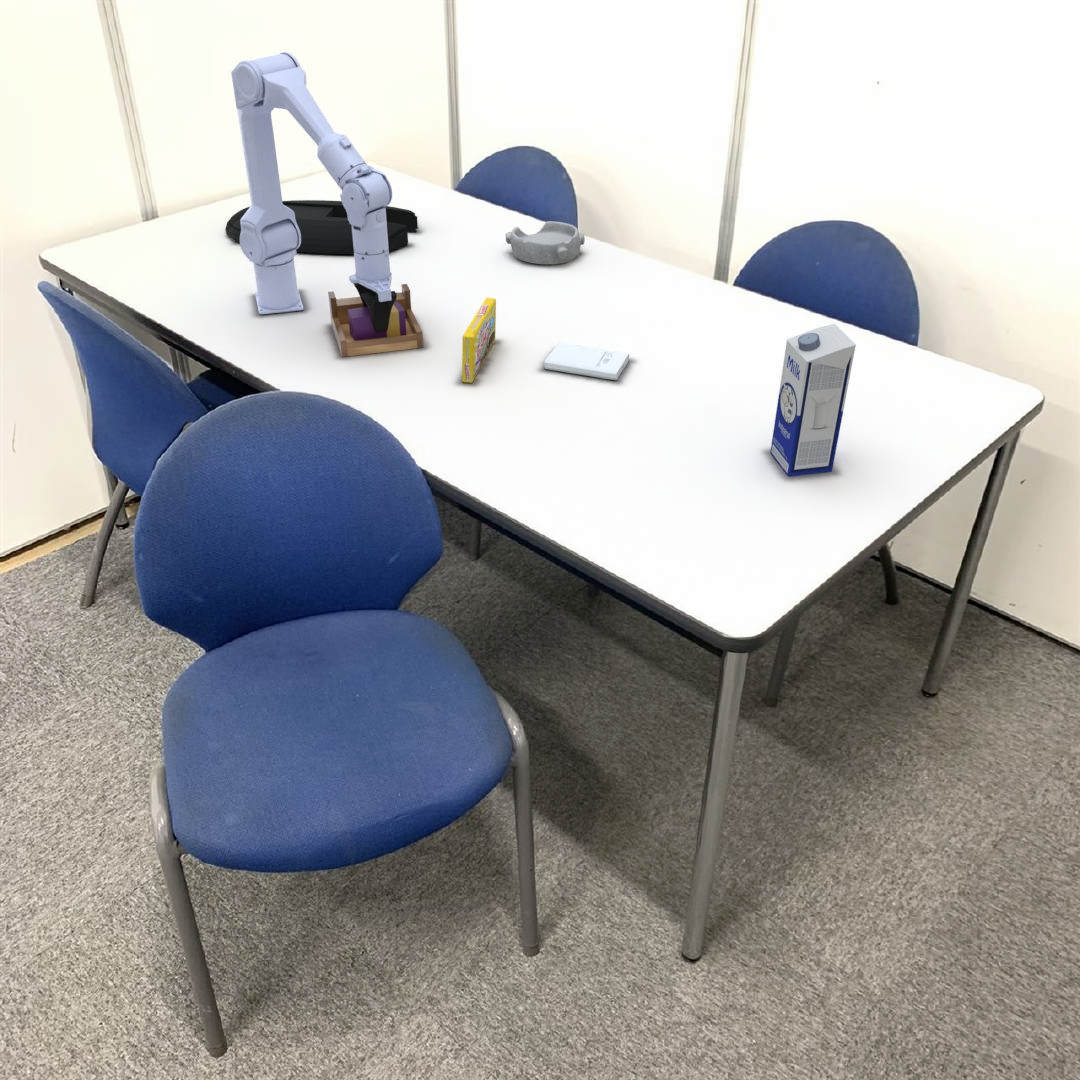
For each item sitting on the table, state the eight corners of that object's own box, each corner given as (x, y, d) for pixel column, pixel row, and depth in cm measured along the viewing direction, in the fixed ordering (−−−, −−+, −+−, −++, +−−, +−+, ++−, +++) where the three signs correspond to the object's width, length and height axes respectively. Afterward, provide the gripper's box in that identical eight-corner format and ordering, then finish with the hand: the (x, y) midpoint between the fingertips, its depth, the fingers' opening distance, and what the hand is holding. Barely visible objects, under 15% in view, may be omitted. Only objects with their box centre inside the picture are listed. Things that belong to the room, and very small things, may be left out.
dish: (498, 256, 225) (497, 232, 222) (542, 238, 233) (542, 214, 230) (552, 273, 217) (552, 249, 214) (595, 254, 226) (596, 230, 223)
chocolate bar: (349, 333, 190) (347, 309, 188) (400, 325, 193) (398, 301, 190) (355, 343, 187) (353, 318, 184) (406, 334, 190) (404, 310, 187)
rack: (331, 326, 196) (327, 291, 192) (409, 317, 199) (406, 283, 196) (341, 357, 186) (338, 321, 182) (423, 347, 189) (421, 312, 186)
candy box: (474, 384, 178) (473, 337, 174) (461, 383, 179) (459, 336, 174) (497, 342, 191) (496, 297, 186) (485, 341, 192) (484, 296, 187)
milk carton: (832, 472, 157) (856, 343, 145) (788, 477, 156) (809, 347, 144) (812, 447, 163) (834, 321, 151) (769, 452, 161) (788, 325, 150)
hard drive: (559, 350, 189) (629, 360, 186) (543, 370, 183) (616, 381, 179) (559, 341, 188) (629, 351, 185) (543, 361, 182) (616, 372, 178)
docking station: (249, 208, 247) (246, 186, 244) (426, 219, 243) (425, 196, 240) (207, 248, 227) (203, 224, 224) (399, 260, 222) (397, 236, 219)
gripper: (336, 237, 186) (344, 313, 193) (358, 267, 175) (365, 346, 182) (377, 232, 188) (383, 307, 196) (401, 261, 177) (406, 339, 185)
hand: (377, 325), depth 189 cm, fingers closed on chocolate bar, 4 cm apart
